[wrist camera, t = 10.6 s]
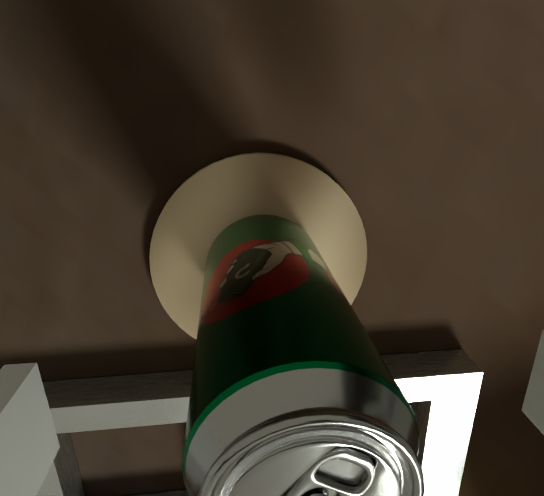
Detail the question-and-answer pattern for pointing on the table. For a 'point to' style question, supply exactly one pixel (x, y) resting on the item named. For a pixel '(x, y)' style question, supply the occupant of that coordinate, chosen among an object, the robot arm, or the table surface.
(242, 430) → the soda can
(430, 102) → the table surface
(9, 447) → the robot arm
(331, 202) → the coaster
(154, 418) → the white flat rectangular frame
